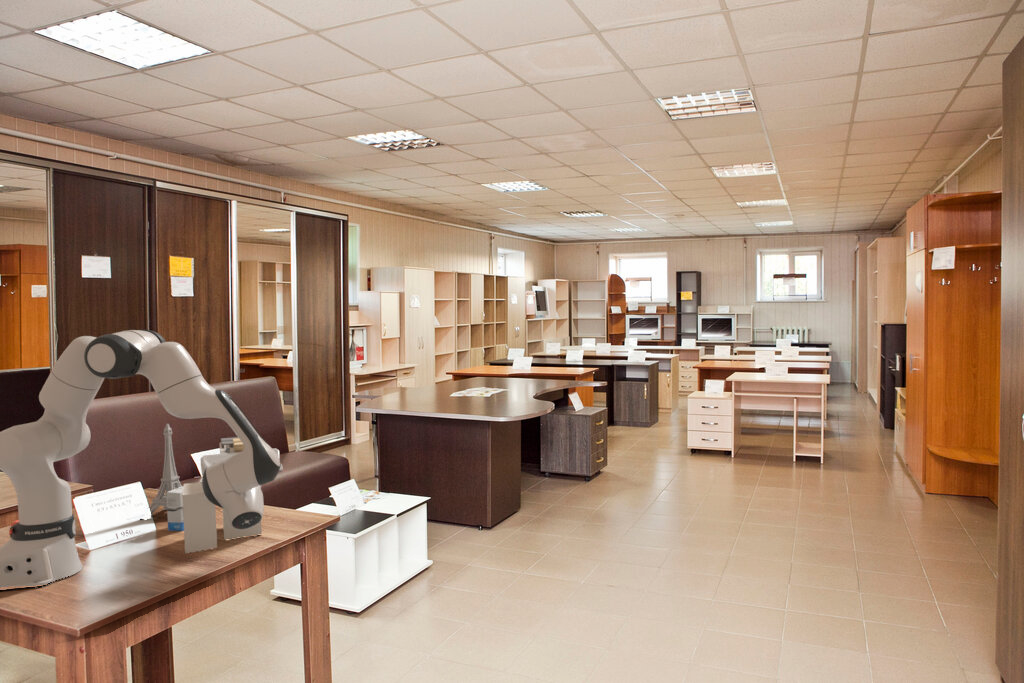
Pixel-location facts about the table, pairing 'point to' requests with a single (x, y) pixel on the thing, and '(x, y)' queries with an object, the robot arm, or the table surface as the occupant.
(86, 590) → the table surface
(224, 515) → the tall stand
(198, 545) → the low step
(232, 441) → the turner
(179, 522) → the ink box
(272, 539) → the table surface
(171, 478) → the eiffel tower
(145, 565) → the table surface
